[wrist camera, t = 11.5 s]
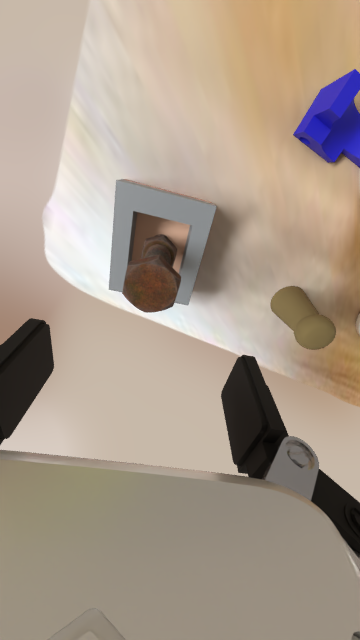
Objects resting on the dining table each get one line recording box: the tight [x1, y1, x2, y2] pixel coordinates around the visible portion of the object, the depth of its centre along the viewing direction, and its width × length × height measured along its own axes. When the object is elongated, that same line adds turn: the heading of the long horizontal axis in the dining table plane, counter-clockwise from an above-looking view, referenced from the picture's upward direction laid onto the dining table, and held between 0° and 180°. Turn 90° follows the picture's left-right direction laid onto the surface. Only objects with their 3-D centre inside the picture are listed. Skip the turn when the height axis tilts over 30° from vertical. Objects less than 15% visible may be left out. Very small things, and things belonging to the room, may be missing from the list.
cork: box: [271, 286, 336, 350], centre depth 35 cm, size 6×6×11 cm
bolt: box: [122, 234, 181, 312], centre depth 27 cm, size 6×5×15 cm
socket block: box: [109, 179, 217, 305], centre depth 32 cm, size 12×14×5 cm
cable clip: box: [293, 69, 360, 168], centre depth 26 cm, size 12×4×6 cm, turn 63°
